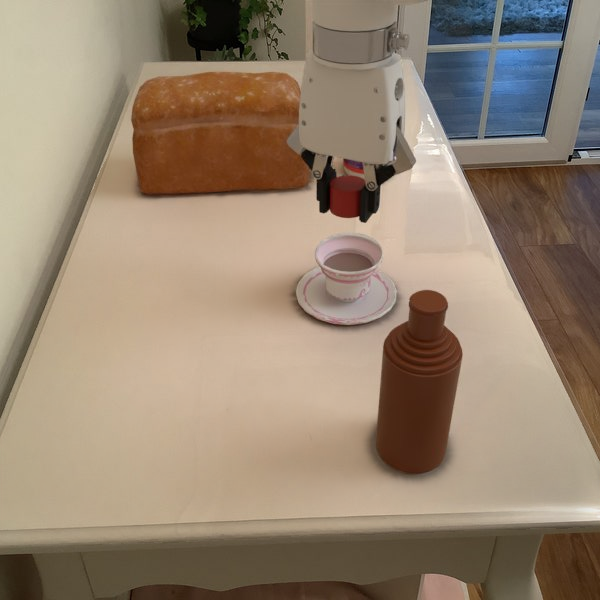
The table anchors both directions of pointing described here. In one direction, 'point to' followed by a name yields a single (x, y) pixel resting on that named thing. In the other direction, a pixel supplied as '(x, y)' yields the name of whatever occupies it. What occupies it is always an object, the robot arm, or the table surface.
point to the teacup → (347, 281)
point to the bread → (217, 133)
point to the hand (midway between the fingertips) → (347, 210)
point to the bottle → (418, 387)
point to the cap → (346, 196)
